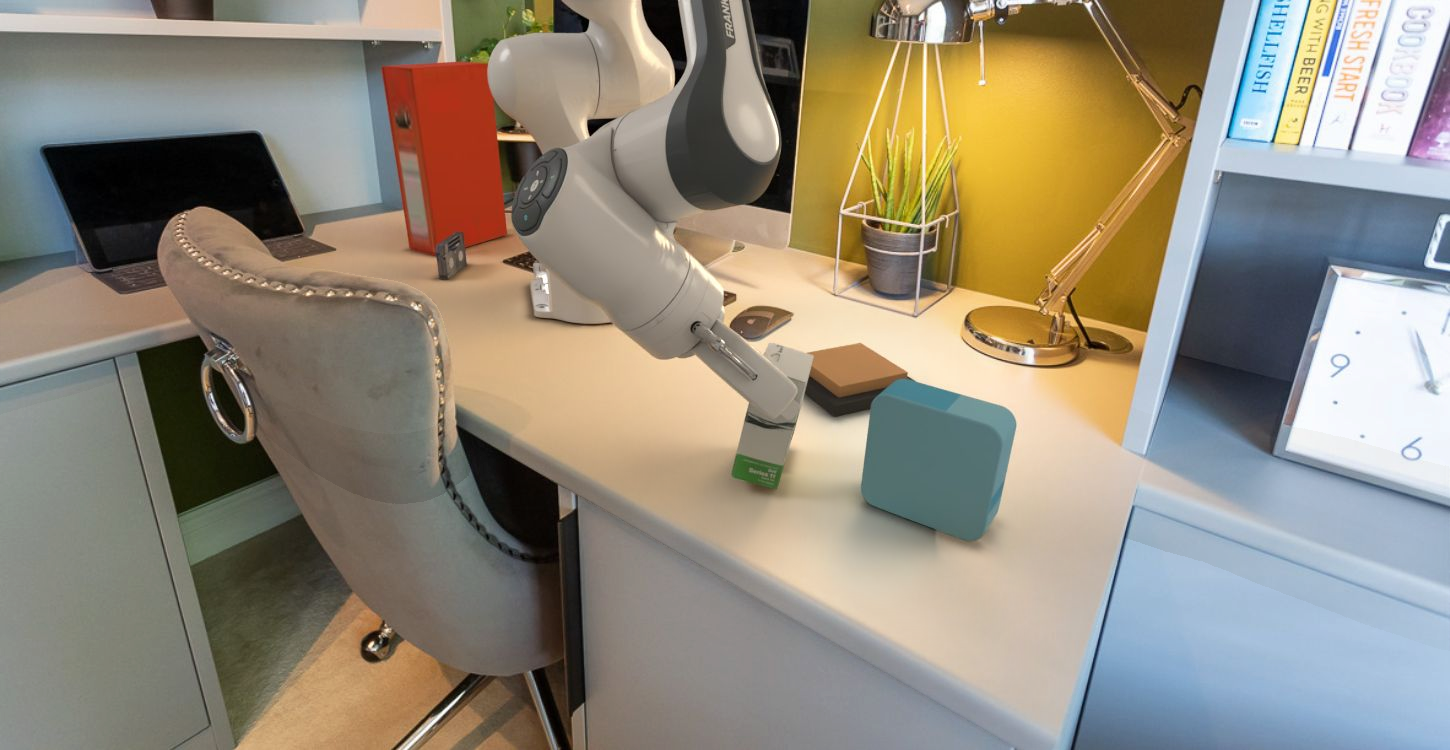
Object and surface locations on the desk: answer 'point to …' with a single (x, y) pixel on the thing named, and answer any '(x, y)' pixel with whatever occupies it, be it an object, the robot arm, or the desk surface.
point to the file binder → (445, 152)
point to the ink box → (771, 425)
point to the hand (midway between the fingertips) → (766, 390)
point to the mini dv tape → (451, 255)
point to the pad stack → (849, 378)
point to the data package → (937, 457)
